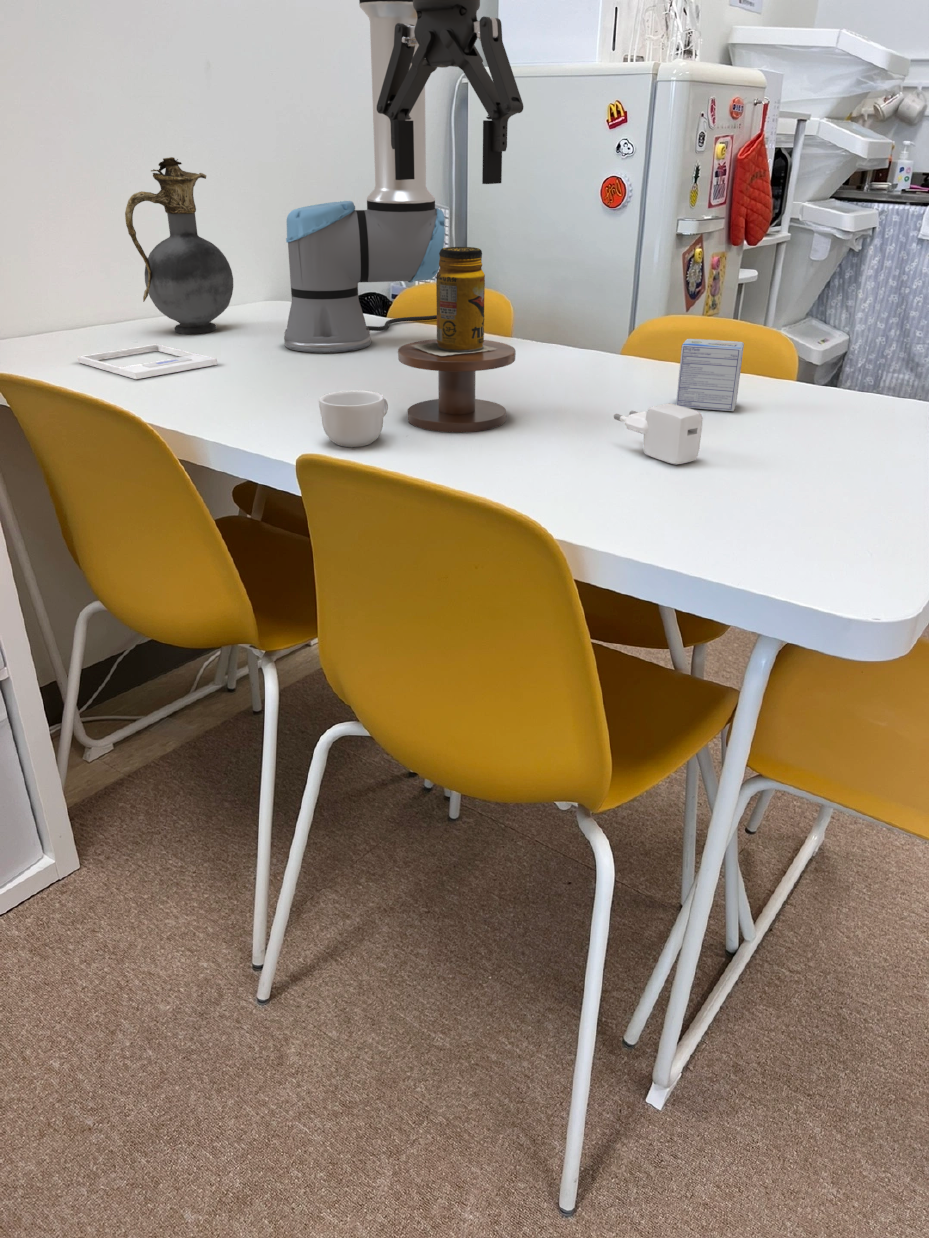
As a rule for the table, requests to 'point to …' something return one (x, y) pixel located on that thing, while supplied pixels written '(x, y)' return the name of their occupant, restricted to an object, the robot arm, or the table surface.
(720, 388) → the medicine box
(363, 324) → the robot arm
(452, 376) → the stand
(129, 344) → the table surface
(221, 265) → the pitcher
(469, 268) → the condiment
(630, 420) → the power adapter
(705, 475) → the table surface
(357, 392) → the teacup
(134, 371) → the photo frame
